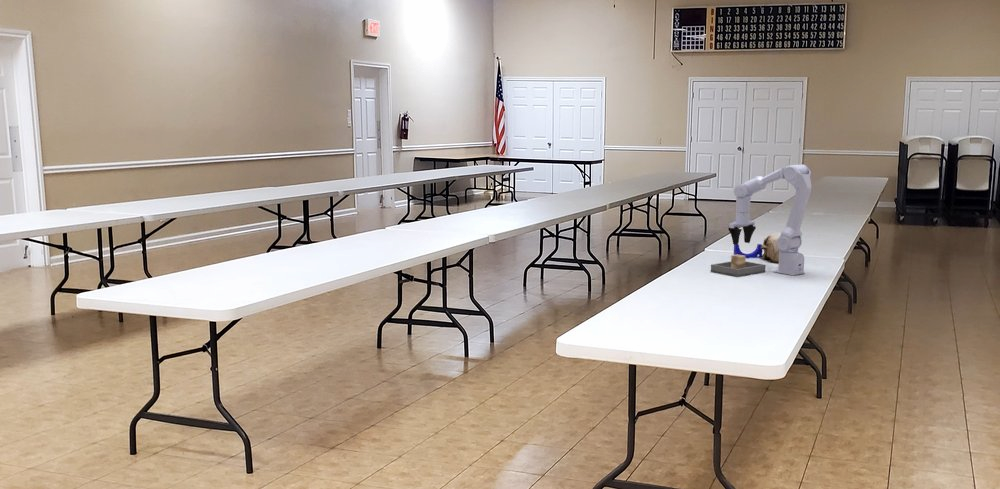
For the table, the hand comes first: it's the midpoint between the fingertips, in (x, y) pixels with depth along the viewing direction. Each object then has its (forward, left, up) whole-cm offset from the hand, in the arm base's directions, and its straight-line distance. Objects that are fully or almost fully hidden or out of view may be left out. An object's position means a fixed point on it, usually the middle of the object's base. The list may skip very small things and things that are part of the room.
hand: (741, 243), depth 359 cm
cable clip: (+10, -19, -10) cm, 23 cm away
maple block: (-9, +13, -9) cm, 18 cm away
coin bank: (-1, -23, -10) cm, 25 cm away
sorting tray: (-9, +13, -9) cm, 18 cm away
